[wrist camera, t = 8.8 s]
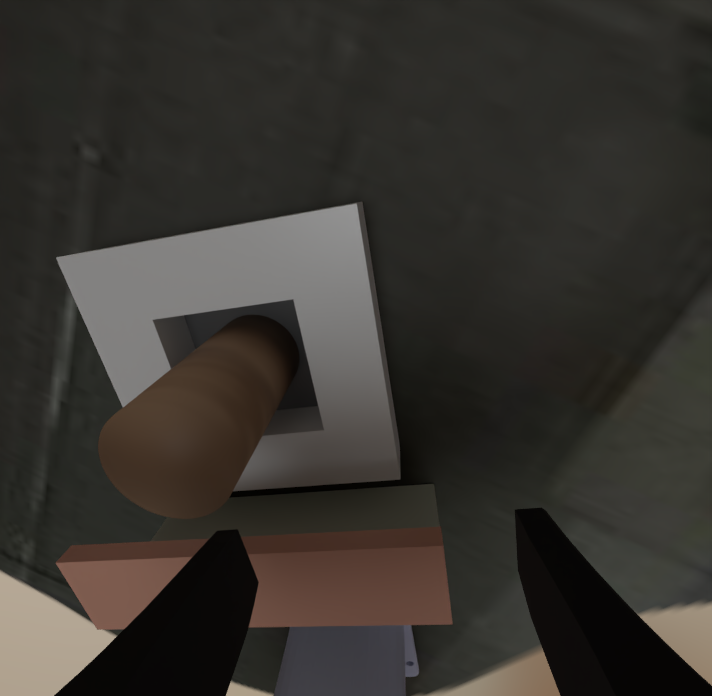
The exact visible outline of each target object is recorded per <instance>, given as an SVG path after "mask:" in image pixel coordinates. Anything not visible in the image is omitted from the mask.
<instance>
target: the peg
mask: <svg viewBox="0 0 712 696" xmlns="http://www.w3.org/2000/svg"><path fill="white" fill-rule="evenodd" d="M298 366H299V350H298V347H297V344H296V342H295V340H294V338H293V336H292V335H291V334H290V332H289V331H288V330H287V329H286V328H285V327H284V326H283V325H281V324H280V323H278V322H277V321H275V320H273V319H271V318H269V317H265V316H261V315H244V316H240V317H238V318H235V319H234V320H232V321H231V322H229V323H228V324H227V325H225V326H224V327H223V328H222V329H220V330H219V331H218V332H217V333H215V334H214V335H213V336H212V337H210V338H209V339H208V340H207V341H205V342H204V343H203V344H202V345H200V346H199V347H198V348H197V349H195V350H194V351H193V352H192V353H190V354H189V355H188V356H187V357H185V358H184V359H183V360H182V361H181V362H179V363H178V364H177V365H176V366H174V367H173V368H172V369H171V370H169V371H168V372H167V373H166V374H164V375H163V376H162V377H161V378H159V379H158V380H157V381H156V382H154V383H153V384H152V385H151V386H149V387H148V388H147V389H146V390H144V391H143V392H142V393H141V394H139V395H138V396H137V397H136V398H134V399H133V400H132V401H131V402H129V403H128V404H127V405H126V406H124V407H123V408H122V409H121V410H119V411H118V412H117V413H116V414H114V415H113V416H112V417H111V418H110V419H109V420H108V421H107V422H106V424H105V425H104V427H103V428H102V431H101V433H100V437H99V441H98V451H99V457H100V461H101V464H102V466H103V469H104V471H105V473H106V474H107V476H108V478H109V479H110V481H111V482H112V483H113V485H114V486H115V487H116V488H117V489H118V490H119V491H120V492H121V493H122V494H123V495H124V496H125V497H127V498H128V499H129V500H131V501H132V502H133V503H135V504H137V505H138V506H140V507H142V508H144V509H146V510H148V511H150V512H153V513H155V514H158V515H162V516H165V517H170V518H178V519H192V518H198V517H203V516H206V515H208V514H211V513H213V512H215V511H216V510H218V509H219V508H220V507H222V506H223V505H224V504H225V503H226V501H227V500H228V498H229V497H230V495H231V493H232V492H233V490H234V488H235V486H236V484H237V482H238V480H239V479H240V477H241V475H242V473H243V471H244V469H245V467H246V466H247V464H248V462H249V460H250V458H251V456H252V454H253V453H254V451H255V449H256V447H257V445H258V443H259V441H260V440H261V438H262V436H263V434H264V432H265V430H266V428H267V427H268V425H269V423H270V421H271V419H272V417H273V415H274V414H275V412H276V410H277V408H278V406H279V404H280V402H281V401H282V399H283V397H284V395H285V393H286V391H287V389H288V387H289V386H290V384H291V382H292V380H293V378H294V376H295V374H296V372H297V370H298Z"/></svg>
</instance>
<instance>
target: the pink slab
mask: <svg viewBox="0 0 712 696" xmlns="http://www.w3.org/2000/svg"><path fill="white" fill-rule="evenodd" d="M234 529H238V531H239V534H240V536H241V539H242V541H243V544H244V546H245V549H246V551H247V554H248V556H249V559H250V561H251V564H252V566H253V569H254V571H255V574H256V577H257V579H258V582H259V584H258V589H257V593H256V598H255V603H254V607H253V612H252V616H251V620H250V624H249V627H312V626H383V625H453V623H452V615H451V606H450V598H449V589H448V581H447V572H446V564H445V555H444V547H443V539H442V532H441V527H440V525H439V518H438V510H437V503H436V495H435V487H434V484H423V485H408V486H394V487H379V488H364V489H350V490H335V491H320V492H305V493H291V494H276V495H261V496H247V497H232V498H228V500H227V501H226V503H225V504H224V505H223V506H222V507H220V508H219V509H218V510H216V511H215V512H213V513H211V514H208V515H206V516H203V517H198V518H192V519H178V518H170V517H167V518H166V520H165V521H164V523H163V524H162V526H161V527H160V528H159V530H158V531H157V533H156V534H155V536H154V537H153V539H152V540H151V541H150V542H131V543H112V544H92V545H73V546H71V547H70V548H69V549H68V550H67V551H66V552H65V553H64V554H63V555H62V557H61V558H60V559H59V560H58V561H57V562H56V564H57V566H58V567H59V569H60V571H61V572H62V574H63V575H64V577H65V579H66V580H67V582H68V583H69V585H70V587H71V588H72V590H73V591H74V593H75V595H76V596H77V598H78V599H79V601H80V603H81V604H82V606H83V607H84V609H85V610H86V612H87V614H88V615H89V617H90V618H91V620H92V622H93V623H94V625H95V626H96V628H97V629H98V630H99V629H125V628H126V627H127V626H128V625H129V624H130V623H131V622H132V621H133V620H134V619H135V618H136V617H137V616H138V615H139V614H140V613H141V612H142V611H143V610H144V609H145V608H146V607H147V606H148V605H149V604H150V602H151V601H152V600H153V599H154V598H155V597H156V596H157V595H158V594H159V593H160V592H161V591H162V590H163V588H164V587H165V586H166V585H167V584H168V583H169V582H170V581H171V580H172V579H173V578H174V577H175V576H176V574H177V573H178V572H179V571H180V570H181V569H182V568H183V567H184V566H185V565H186V564H187V562H188V561H189V560H190V559H191V558H192V557H193V556H194V555H195V554H196V553H197V551H198V550H199V549H200V548H201V547H202V546H203V545H204V544H205V543H206V542H207V541H208V540H209V539H210V538H211V537H212V535H213V534H214V533H215V532H216V531H220V530H234Z"/></svg>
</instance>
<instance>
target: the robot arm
mask: <svg viewBox="0 0 712 696" xmlns="http://www.w3.org/2000/svg"><path fill="white" fill-rule="evenodd" d="M515 520H516V540H517V559H518V572H519V575H520V579H521V583H522V586H523V590H524V594H525V597H526V601H527V605H528V608H529V612H530V615H531V618H532V621H533V624H534V627H535V629H536V632H537V635H538V637H539V640H540V643H541V645H542V648H543V651H544V653H545V656H546V659H547V661H548V664H549V666H550V669H551V672H552V674H553V677H554V680H555V682H556V685H557V688H558V690H559V693H560V695H561V696H712V686H711V685H710V684H709V683H708V682H707V681H706V680H705V679H703V678H702V677H701V676H700V675H699V674H698V673H697V672H696V671H695V670H694V669H693V668H692V667H691V666H689V665H688V664H687V663H686V662H685V661H684V660H683V659H682V658H681V657H680V656H679V655H678V654H677V653H676V652H675V651H674V650H673V649H672V648H671V647H669V646H668V645H667V644H666V643H665V642H664V641H663V640H662V639H661V638H660V637H659V636H658V635H657V634H656V633H655V632H654V631H653V630H652V629H651V628H650V627H649V626H648V625H647V624H646V623H645V622H644V621H643V620H642V619H641V618H640V617H639V616H638V615H637V614H636V613H635V612H634V611H633V610H632V609H631V608H630V607H629V606H628V604H627V603H626V602H625V601H624V600H623V599H622V598H621V597H620V596H619V595H618V594H617V593H616V592H615V591H614V590H613V589H612V587H611V586H610V585H609V584H608V583H607V582H606V581H605V580H604V579H603V578H602V577H601V576H600V575H599V573H598V572H597V571H596V570H595V569H594V568H593V567H592V566H591V565H590V563H589V562H588V561H587V560H586V559H585V558H584V557H583V555H582V554H581V553H580V552H579V551H578V550H577V548H576V547H575V546H574V545H573V544H572V543H571V541H570V540H569V539H568V538H567V537H566V535H565V534H564V533H563V532H562V531H561V529H560V528H559V527H558V526H557V524H556V523H555V522H554V521H553V519H552V518H551V517H550V515H549V514H548V513H547V511H545V510H544V509H543V508H532V509H517V510H515ZM258 584H259V582H258V579H257V577H256V574H255V571H254V569H253V566H252V564H251V561H250V559H249V556H248V554H247V551H246V549H245V546H244V544H243V541H242V539H241V536H240V534H239V531H238V529H234V530H220V531H216V532H215V533H214V534H213V535H212V537H211V538H210V539H209V540H208V541H207V542H206V543H205V544H204V545H203V546H202V547H201V548H200V549H199V550H198V551H197V553H196V554H195V555H194V556H193V557H192V558H191V559H190V560H189V561H188V562H187V564H186V565H185V566H184V567H183V568H182V569H181V570H180V571H179V572H178V573H177V574H176V576H175V577H174V578H173V579H172V580H171V581H170V582H169V583H168V584H167V585H166V586H165V587H164V588H163V590H162V591H161V592H160V593H159V594H158V595H157V596H156V597H155V598H154V599H153V600H152V601H151V602H150V604H149V605H148V606H147V607H146V608H145V609H144V610H143V611H142V612H141V613H140V614H139V615H138V616H137V617H136V618H135V619H134V620H133V621H132V622H131V623H130V624H129V625H128V626H127V627H126V628H125V629H124V630H123V631H122V632H121V633H120V634H119V635H118V636H117V637H116V638H115V639H114V640H113V641H112V642H111V643H110V644H109V645H108V646H107V647H106V648H105V649H104V650H103V651H102V652H101V653H100V654H99V655H98V656H97V657H96V658H95V659H94V660H93V661H92V662H91V663H89V664H88V665H87V666H86V667H85V668H84V669H83V670H82V671H81V672H80V673H79V674H78V675H76V676H75V677H74V678H73V679H72V680H71V681H70V682H69V683H68V684H67V685H65V686H64V687H63V688H62V689H61V690H60V691H59V692H58V693H57V694H56V695H54V696H226V693H227V690H228V687H229V684H230V681H231V679H232V676H233V673H234V670H235V667H236V664H237V661H238V658H239V655H240V652H241V649H242V646H243V643H244V640H245V637H246V634H247V631H248V628H249V624H250V620H251V616H252V612H253V607H254V603H255V598H256V593H257V589H258ZM418 674H419V666H418V660H417V654H416V649H415V643H414V637H413V632H412V626H411V625H383V626H312V627H290V630H289V634H288V638H287V642H286V646H285V651H284V655H283V659H282V663H281V667H280V671H279V676H278V680H277V684H276V688H275V692H274V696H406V683H405V677H415V676H417V675H418Z"/></svg>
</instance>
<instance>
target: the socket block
mask: <svg viewBox="0 0 712 696" xmlns="http://www.w3.org/2000/svg"><path fill="white" fill-rule="evenodd" d="M56 259H57V261H58V264H59V266H60V268H61V270H62V272H63V275H64V277H65V279H66V281H67V284H68V286H69V288H70V290H71V293H72V295H73V297H74V299H75V301H76V304H77V306H78V308H79V310H80V313H81V315H82V317H83V319H84V322H85V324H86V326H87V328H88V331H89V333H90V335H91V337H92V339H93V342H94V344H95V346H96V348H97V351H98V353H99V355H100V357H101V360H102V362H103V364H104V366H105V368H106V371H107V373H108V375H109V377H110V380H111V382H112V384H113V386H114V389H115V391H116V393H117V395H118V397H119V400H120V402H121V404H122V406H123V407H124V406H126V405H127V404H128V403H129V402H131V401H132V400H133V399H134V398H136V397H137V396H138V395H139V394H141V393H142V392H143V391H144V390H146V389H147V388H148V387H149V386H151V385H152V384H153V383H154V382H156V381H157V380H158V379H159V378H161V377H162V376H163V375H164V374H166V373H167V372H168V371H169V370H171V369H172V368H173V367H174V366H176V365H177V364H178V363H179V362H181V361H182V360H183V359H184V358H185V357H187V356H188V355H189V354H190V353H192V352H193V351H194V350H195V349H197V348H198V347H199V346H200V345H202V344H203V343H204V342H205V341H207V340H208V339H209V338H210V337H212V336H213V335H214V334H215V333H217V332H218V331H219V330H220V329H222V328H223V327H224V326H225V325H227V324H228V323H229V322H231V321H232V320H234V319H235V318H238V317H240V316H244V315H261V316H265V317H269V318H271V319H273V320H275V321H277V322H278V323H280V324H281V325H283V326H284V327H285V328H286V329H287V330H288V331H289V332H290V334H291V335H292V336H293V338H294V340H295V342H296V344H297V347H298V350H299V366H298V370H297V372H296V374H295V376H294V378H293V380H292V382H291V384H290V386H289V387H288V389H287V391H286V393H285V395H284V397H283V399H282V401H281V402H280V404H279V406H278V408H277V410H276V412H275V414H274V415H273V417H272V419H271V421H270V423H269V425H268V427H267V428H266V430H265V432H264V434H263V436H262V438H261V440H260V441H259V443H258V445H257V447H256V449H255V451H254V453H253V454H252V456H251V458H250V460H249V462H248V464H247V466H246V467H245V469H244V471H243V473H242V475H241V477H240V479H239V480H238V482H237V484H236V486H235V488H234V490H233V491H245V490H259V489H273V488H288V487H302V486H316V485H330V484H344V483H358V482H373V481H387V480H401V476H400V443H399V437H398V430H397V424H396V417H395V411H394V404H393V398H392V391H391V385H390V378H389V372H388V365H387V359H386V352H385V346H384V339H383V333H382V326H381V320H380V313H379V307H378V300H377V294H376V287H375V281H374V274H373V268H372V261H371V255H370V248H369V242H368V235H367V229H366V222H365V216H364V209H363V202H356V203H351V204H345V205H339V206H334V207H328V208H323V209H317V210H312V211H306V212H301V213H295V214H290V215H284V216H279V217H273V218H268V219H262V220H256V221H251V222H245V223H240V224H234V225H229V226H223V227H218V228H212V229H207V230H201V231H196V232H190V233H185V234H179V235H173V236H168V237H162V238H157V239H151V240H146V241H140V242H135V243H129V244H124V245H118V246H113V247H107V248H102V249H96V250H91V251H86V252H82V253H77V254H72V255H67V256H62V257H57V258H56Z"/></svg>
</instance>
